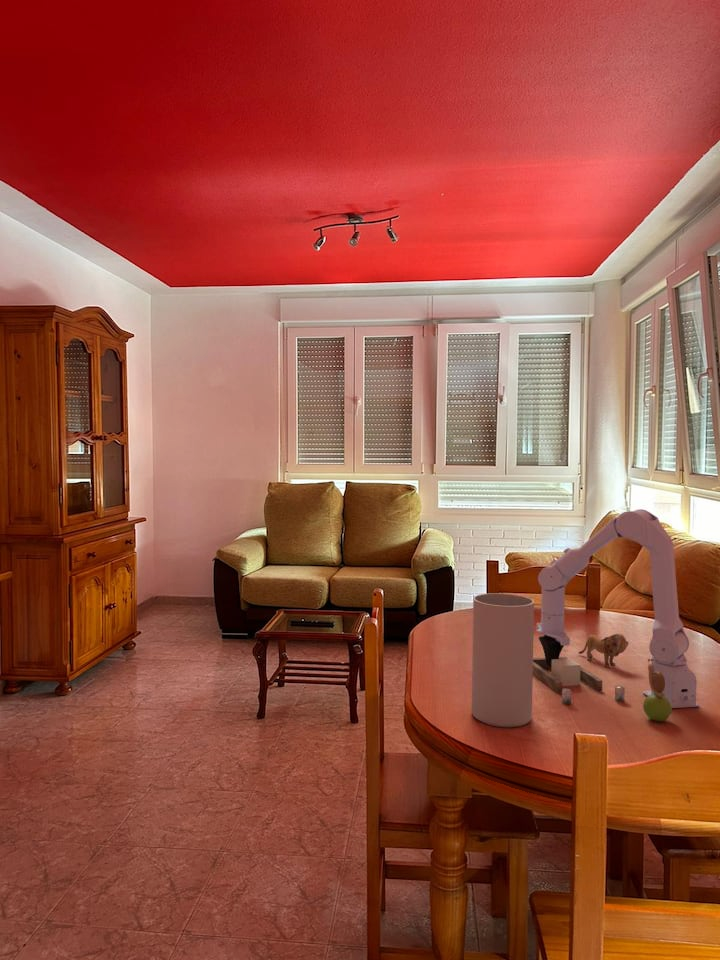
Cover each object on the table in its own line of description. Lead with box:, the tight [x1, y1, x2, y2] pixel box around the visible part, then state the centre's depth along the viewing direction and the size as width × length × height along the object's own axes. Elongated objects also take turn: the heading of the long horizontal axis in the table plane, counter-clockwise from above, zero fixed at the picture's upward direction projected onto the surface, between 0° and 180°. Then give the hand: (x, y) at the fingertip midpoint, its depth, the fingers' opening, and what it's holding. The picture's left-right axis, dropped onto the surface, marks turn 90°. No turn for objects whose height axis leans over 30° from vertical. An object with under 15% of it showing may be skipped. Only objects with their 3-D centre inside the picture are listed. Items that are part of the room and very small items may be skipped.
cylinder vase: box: [471, 592, 535, 728], centre depth 135 cm, size 12×12×25 cm
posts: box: [561, 685, 626, 706], centre depth 144 cm, size 2×15×3 cm, turn 100°
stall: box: [533, 656, 603, 694], centre depth 159 cm, size 18×11×2 cm, turn 10°
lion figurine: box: [578, 633, 629, 668], centre depth 173 cm, size 15×5×9 cm, turn 34°
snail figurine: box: [642, 658, 673, 722], centre depth 135 cm, size 5×6×12 cm
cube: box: [550, 658, 581, 687], centre depth 157 cm, size 5×5×5 cm
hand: (551, 665), depth 164 cm, fingers closed
